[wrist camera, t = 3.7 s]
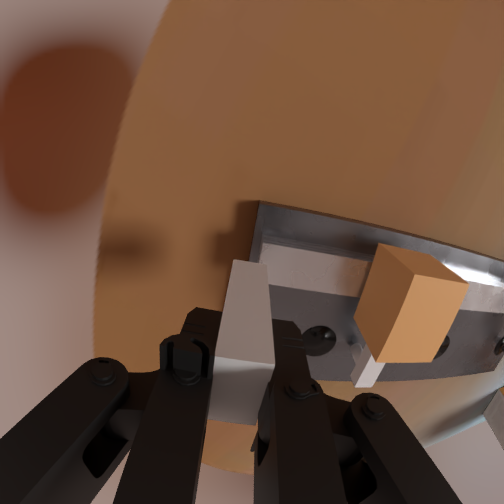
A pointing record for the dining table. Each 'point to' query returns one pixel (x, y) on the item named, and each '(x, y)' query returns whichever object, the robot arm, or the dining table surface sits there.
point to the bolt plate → (343, 307)
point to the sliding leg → (403, 311)
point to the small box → (496, 415)
